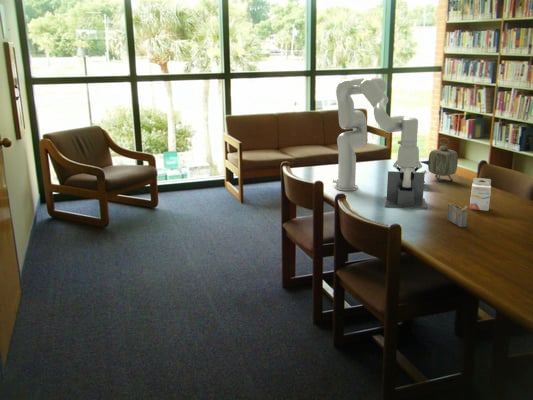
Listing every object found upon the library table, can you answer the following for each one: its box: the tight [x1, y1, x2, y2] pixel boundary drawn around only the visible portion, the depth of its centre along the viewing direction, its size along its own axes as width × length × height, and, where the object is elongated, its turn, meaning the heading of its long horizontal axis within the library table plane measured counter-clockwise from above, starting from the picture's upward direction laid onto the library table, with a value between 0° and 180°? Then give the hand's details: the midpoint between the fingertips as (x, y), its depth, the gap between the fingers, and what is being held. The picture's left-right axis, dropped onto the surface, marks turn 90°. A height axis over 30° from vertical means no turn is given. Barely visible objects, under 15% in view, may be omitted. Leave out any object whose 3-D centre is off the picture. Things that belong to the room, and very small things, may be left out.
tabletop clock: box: [427, 137, 459, 182], centre depth 310 cm, size 14×9×25 cm, turn 34°
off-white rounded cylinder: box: [402, 167, 412, 188], centre depth 264 cm, size 4×4×12 cm
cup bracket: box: [383, 170, 428, 210], centre depth 268 cm, size 15×20×15 cm
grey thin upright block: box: [446, 203, 470, 228], centre depth 239 cm, size 11×3×10 cm, turn 13°
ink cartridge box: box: [469, 177, 492, 212], centre depth 258 cm, size 9×5×15 cm, turn 71°
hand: (406, 179), depth 265 cm, fingers closed on off-white rounded cylinder, 4 cm apart
